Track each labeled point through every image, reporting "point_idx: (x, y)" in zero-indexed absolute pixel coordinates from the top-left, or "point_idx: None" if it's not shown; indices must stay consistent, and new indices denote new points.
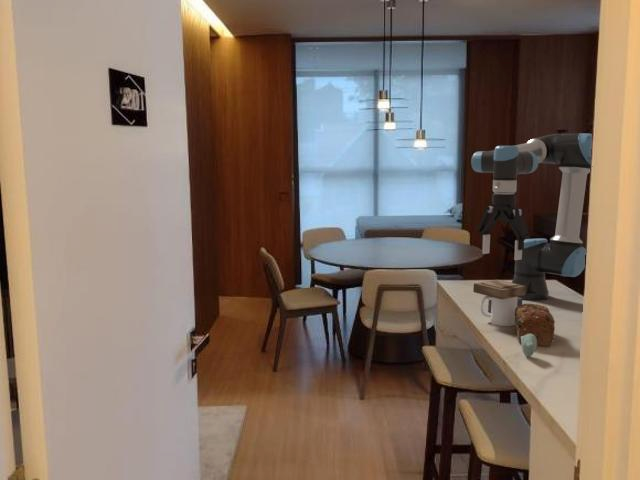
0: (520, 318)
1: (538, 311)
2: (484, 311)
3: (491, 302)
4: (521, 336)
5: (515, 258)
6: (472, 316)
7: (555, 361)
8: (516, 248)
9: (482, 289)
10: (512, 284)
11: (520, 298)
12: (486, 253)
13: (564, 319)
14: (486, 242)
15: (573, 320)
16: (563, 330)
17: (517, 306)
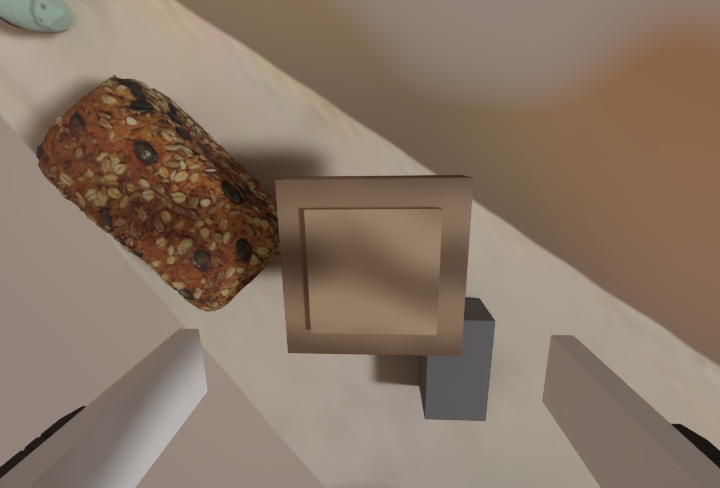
0: (125, 97)
1: (88, 169)
2: None
3: (476, 315)
4: (56, 7)
5: (177, 335)
6: (475, 214)
7: (13, 63)
8: (97, 397)
9: (405, 177)
10: (326, 312)
11: (427, 411)
12: (547, 366)
13: (298, 415)
14: (622, 450)
15: (279, 425)
16: (222, 326)
17: (422, 380)
